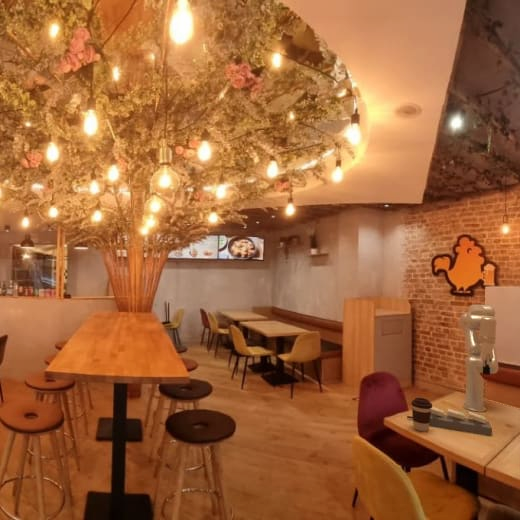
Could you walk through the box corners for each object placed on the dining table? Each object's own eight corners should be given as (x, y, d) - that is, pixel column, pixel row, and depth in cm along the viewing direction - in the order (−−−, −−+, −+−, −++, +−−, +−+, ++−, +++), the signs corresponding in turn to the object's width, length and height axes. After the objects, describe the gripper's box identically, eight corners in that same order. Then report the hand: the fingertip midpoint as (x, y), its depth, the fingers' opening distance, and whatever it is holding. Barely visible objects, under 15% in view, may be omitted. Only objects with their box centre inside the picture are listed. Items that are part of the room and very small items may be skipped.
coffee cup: (427, 426, 215) (428, 397, 216) (433, 433, 205) (435, 403, 206) (408, 424, 216) (409, 395, 217) (413, 431, 206) (414, 401, 207)
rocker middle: (446, 412, 222) (447, 408, 221) (463, 416, 219) (463, 412, 219) (447, 414, 217) (448, 410, 217) (464, 419, 214) (464, 415, 214)
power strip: (407, 416, 229) (407, 407, 229) (488, 429, 215) (488, 420, 215) (406, 422, 220) (407, 413, 220) (491, 436, 205) (492, 426, 205)
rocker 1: (426, 408, 225) (427, 404, 225) (442, 414, 222) (443, 410, 222) (426, 411, 221) (428, 407, 220) (442, 417, 218) (443, 413, 218)
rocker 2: (467, 414, 218) (468, 410, 218) (484, 420, 215) (485, 416, 215) (468, 417, 213) (469, 413, 213) (485, 423, 210) (486, 419, 210)
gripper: (477, 337, 231) (476, 370, 230) (481, 341, 217) (480, 376, 216) (492, 338, 228) (491, 372, 228) (497, 342, 214) (496, 378, 214)
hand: (486, 374), depth 222 cm, fingers closed
